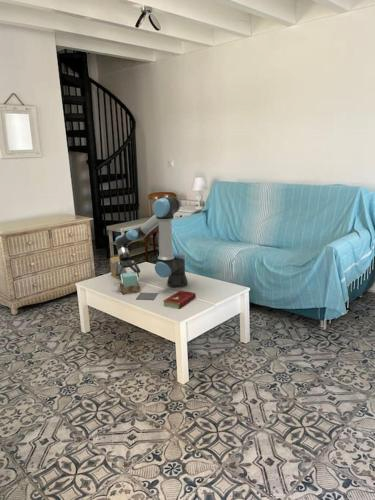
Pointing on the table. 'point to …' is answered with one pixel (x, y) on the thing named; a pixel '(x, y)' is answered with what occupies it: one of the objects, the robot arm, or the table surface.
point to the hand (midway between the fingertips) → (130, 282)
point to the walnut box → (129, 289)
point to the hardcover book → (179, 299)
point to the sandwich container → (113, 267)
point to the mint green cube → (129, 279)
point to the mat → (146, 296)
